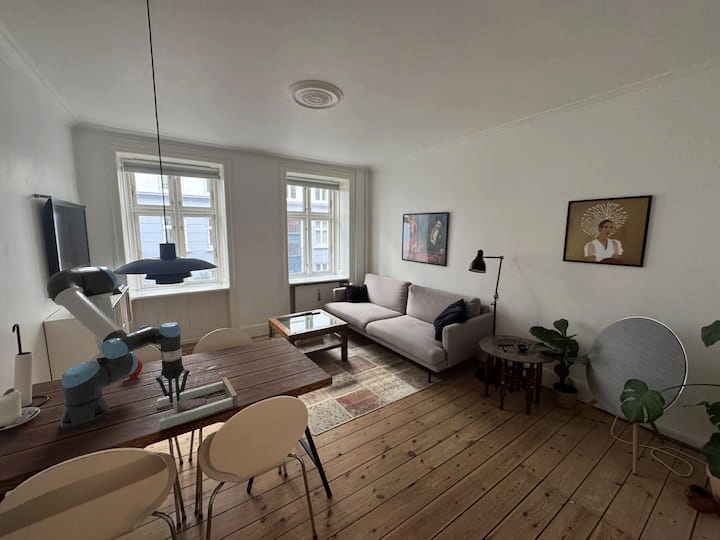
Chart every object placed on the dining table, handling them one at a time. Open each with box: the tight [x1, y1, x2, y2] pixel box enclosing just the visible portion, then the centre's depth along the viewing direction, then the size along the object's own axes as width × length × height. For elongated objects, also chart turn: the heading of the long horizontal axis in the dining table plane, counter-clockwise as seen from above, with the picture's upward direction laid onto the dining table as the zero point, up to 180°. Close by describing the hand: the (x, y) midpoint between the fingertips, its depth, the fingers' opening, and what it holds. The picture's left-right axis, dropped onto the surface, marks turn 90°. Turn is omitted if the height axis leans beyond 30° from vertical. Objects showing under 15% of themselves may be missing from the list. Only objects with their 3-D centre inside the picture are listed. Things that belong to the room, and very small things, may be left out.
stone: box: [176, 397, 208, 414], centre depth 131 cm, size 12×9×5 cm
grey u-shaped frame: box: [156, 376, 238, 430], centre depth 135 cm, size 30×20×5 cm, turn 128°
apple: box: [127, 358, 143, 379], centre depth 157 cm, size 9×8×11 cm
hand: (175, 408), depth 129 cm, fingers closed
